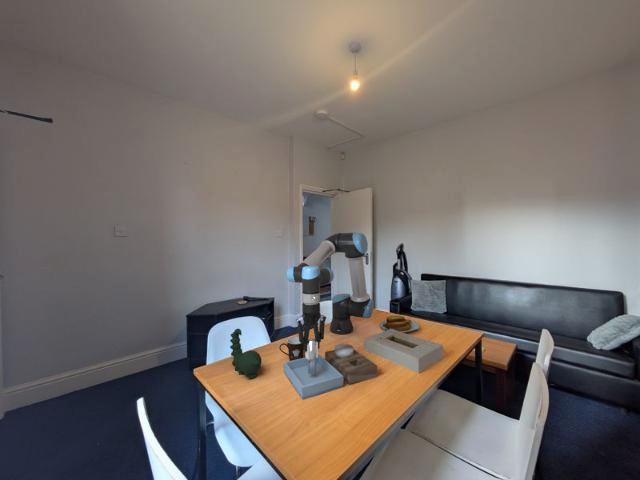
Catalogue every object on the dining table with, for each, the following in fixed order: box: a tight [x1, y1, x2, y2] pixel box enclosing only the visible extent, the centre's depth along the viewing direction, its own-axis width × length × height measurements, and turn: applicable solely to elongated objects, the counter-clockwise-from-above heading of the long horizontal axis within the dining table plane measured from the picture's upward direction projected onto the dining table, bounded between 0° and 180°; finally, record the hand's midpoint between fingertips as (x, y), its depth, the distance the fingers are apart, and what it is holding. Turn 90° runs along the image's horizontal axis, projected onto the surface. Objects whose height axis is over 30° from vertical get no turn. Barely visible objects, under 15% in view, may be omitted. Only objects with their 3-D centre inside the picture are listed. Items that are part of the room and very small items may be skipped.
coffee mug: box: [279, 336, 305, 361], centre depth 129 cm, size 12×9×10 cm
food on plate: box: [379, 315, 421, 334], centre depth 173 cm, size 26×25×7 cm
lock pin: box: [308, 337, 316, 375], centre depth 111 cm, size 4×4×14 cm
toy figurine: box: [229, 328, 262, 380], centre depth 118 cm, size 9×19×25 cm
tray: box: [283, 353, 344, 401], centre depth 111 cm, size 22×18×4 cm
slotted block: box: [363, 329, 444, 374], centre depth 135 cm, size 23×8×32 cm
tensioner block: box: [324, 343, 378, 386], centre depth 120 cm, size 22×14×8 cm, turn 26°
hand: (311, 357), depth 111 cm, fingers closed on lock pin, 3 cm apart
